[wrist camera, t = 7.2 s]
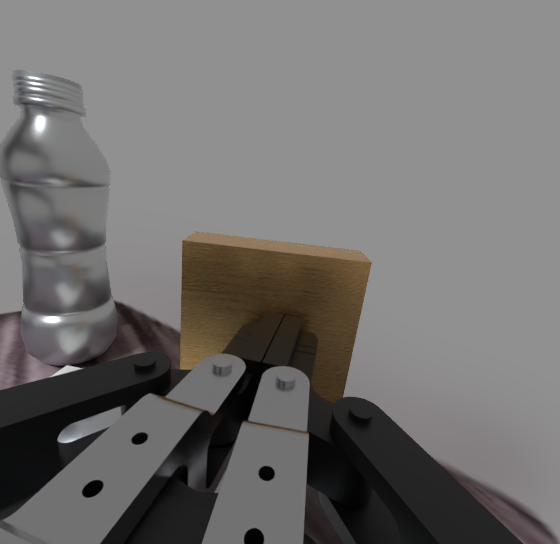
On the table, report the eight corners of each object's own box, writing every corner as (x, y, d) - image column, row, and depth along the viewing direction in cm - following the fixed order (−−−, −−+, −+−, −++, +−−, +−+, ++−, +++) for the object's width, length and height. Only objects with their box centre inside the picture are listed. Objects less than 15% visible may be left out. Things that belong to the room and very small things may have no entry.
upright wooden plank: (-3, 477, 13) (-58, 224, 10) (75, 395, 18) (56, 208, 14) (330, 511, 13) (384, 276, 10) (318, 421, 18) (352, 242, 15)
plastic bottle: (101, 325, 30) (86, 96, 24) (133, 356, 26) (124, 89, 20) (16, 347, 25) (-30, 68, 19) (38, 390, 21) (-12, 52, 15)
